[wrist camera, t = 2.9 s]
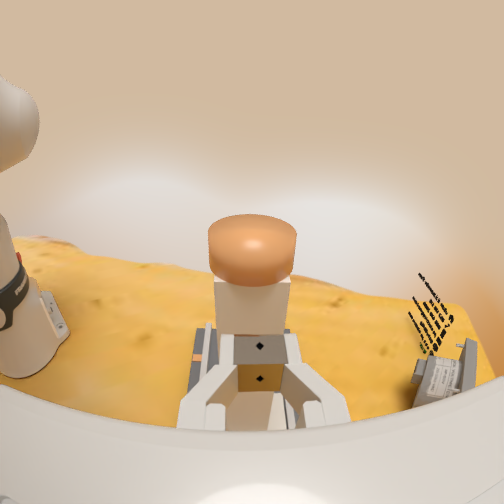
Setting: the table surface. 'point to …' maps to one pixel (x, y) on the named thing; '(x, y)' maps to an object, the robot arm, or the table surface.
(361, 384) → the table surface
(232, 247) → the slider handle
